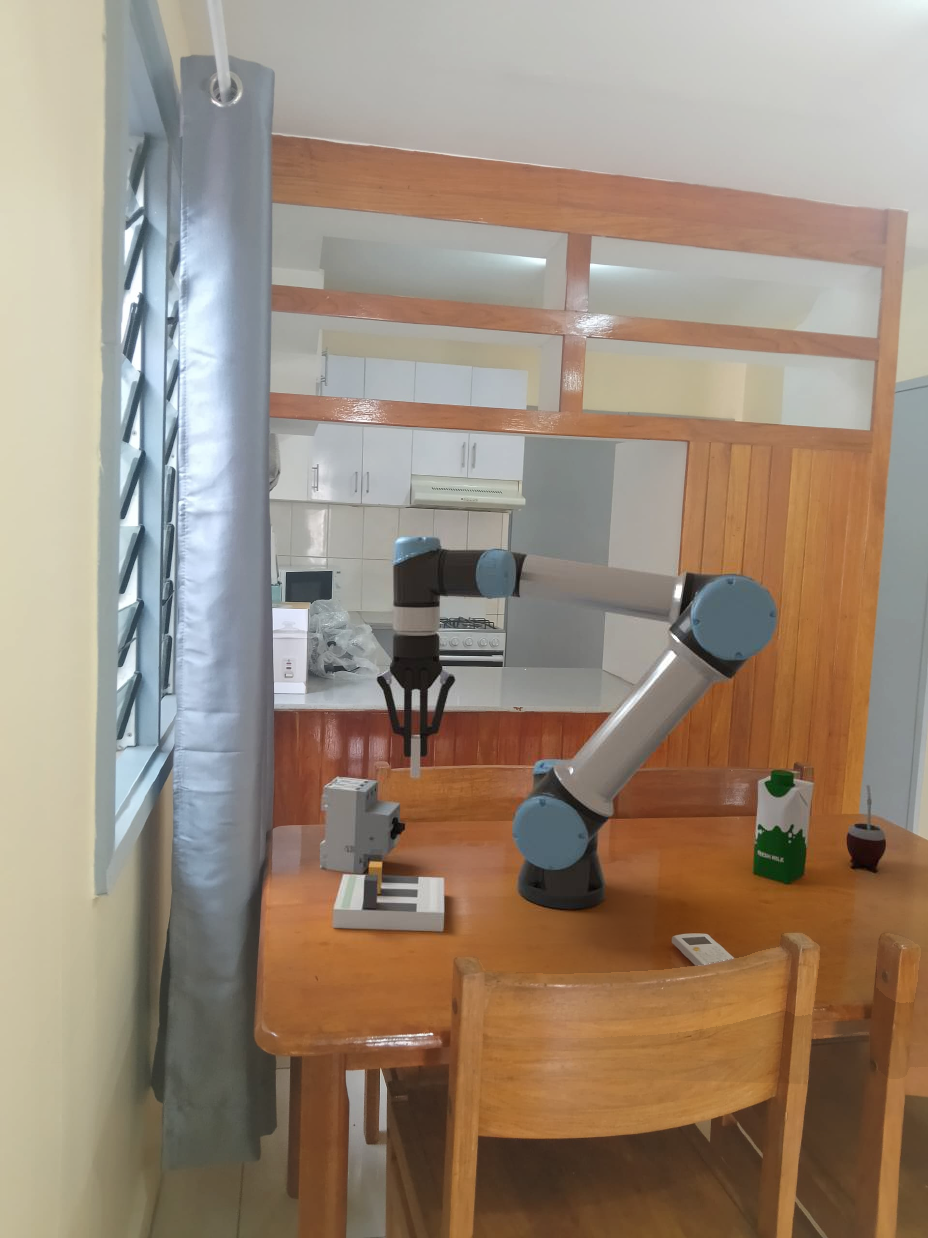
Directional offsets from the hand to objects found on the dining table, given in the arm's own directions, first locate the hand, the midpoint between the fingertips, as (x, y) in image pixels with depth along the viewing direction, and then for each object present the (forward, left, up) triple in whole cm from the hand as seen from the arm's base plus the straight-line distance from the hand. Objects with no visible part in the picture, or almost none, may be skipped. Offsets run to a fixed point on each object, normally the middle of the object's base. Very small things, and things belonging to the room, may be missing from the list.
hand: (415, 775), depth 146 cm
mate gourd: (-88, -24, -22) cm, 94 cm away
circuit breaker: (+9, -15, -22) cm, 28 cm away
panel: (+3, +4, -21) cm, 22 cm away
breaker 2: (+6, +9, -18) cm, 21 cm away
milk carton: (-69, -18, -22) cm, 75 cm away
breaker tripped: (+6, +4, -18) cm, 19 cm away
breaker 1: (+6, -2, -18) cm, 19 cm away
